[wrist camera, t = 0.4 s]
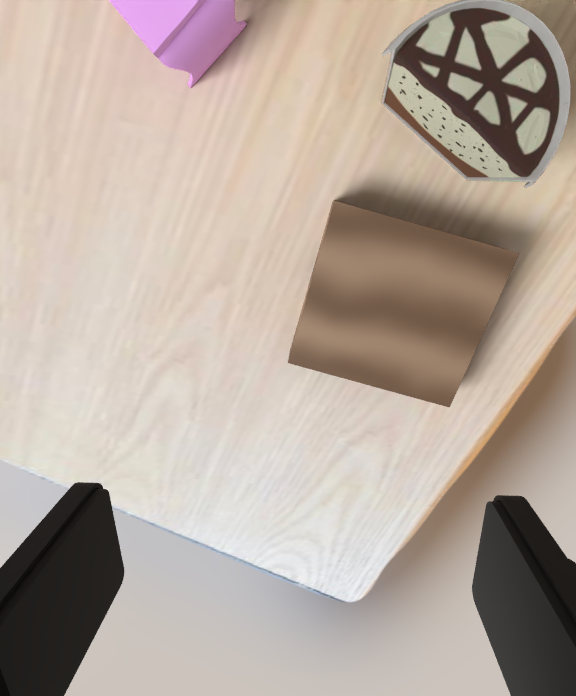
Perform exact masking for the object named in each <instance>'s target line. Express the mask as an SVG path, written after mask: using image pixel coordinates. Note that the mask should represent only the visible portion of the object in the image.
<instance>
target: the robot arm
mask: <svg viewBox="0 0 576 696" xmlns="http://www.w3.org/2000/svg"><path fill="white" fill-rule="evenodd" d="M123 577H124V566H123V561H122V556H121V551H120V546H119V541H118V536H117V531H116V526H115V521H114V517H113V511H112V506H111V501H110V496H109V492H108V490H106V489H103V486H102V485H101V484H100V483H80V482H78V483H75V484H74V485H73V486H72V487H71V488H70V489H69V490H68V491H67V492H66V494H65V495H64V496H63V497H62V498H61V499H60V500H59V501H58V503H57V504H56V505H55V506H54V507H53V509H52V510H51V511H50V512H49V513H48V514H47V515H46V517H45V518H44V519H43V520H42V521H41V522H40V523H39V525H38V526H37V527H36V528H35V529H34V530H33V531H32V533H31V534H30V535H29V536H28V537H27V538H26V539H25V540H24V542H23V543H22V544H21V545H20V546H19V548H18V549H17V550H16V551H15V552H14V553H13V554H12V556H11V557H10V558H9V559H8V560H7V561H6V562H5V563H4V565H3V566H2V567H1V568H0V696H64V695H65V693H66V690H67V689H68V687H69V685H70V683H71V681H72V679H73V677H74V675H75V673H76V671H77V670H78V668H79V666H80V664H81V662H82V660H83V658H84V656H85V654H86V652H87V650H88V648H89V646H90V644H91V642H92V640H93V639H94V637H95V635H96V633H97V631H98V629H99V627H100V625H101V623H102V621H103V619H104V617H105V615H106V613H107V611H108V610H109V608H110V606H111V604H112V602H113V600H114V598H115V596H116V594H117V592H118V590H119V588H120V586H121V584H122V581H123ZM472 592H473V598H474V602H475V605H476V607H477V610H478V612H479V615H480V618H481V620H482V623H483V625H484V628H485V630H486V633H487V636H488V638H489V641H490V643H491V646H492V648H493V651H494V653H495V656H496V659H497V661H498V664H499V666H500V669H501V671H502V674H503V677H504V679H505V681H506V684H507V687H508V689H509V692H510V694H511V696H576V563H575V562H573V561H572V560H570V559H567V557H566V556H565V554H564V553H563V551H562V550H561V549H560V547H559V546H558V544H557V543H556V541H555V540H554V538H553V537H552V536H551V534H550V533H549V531H548V530H547V528H546V527H545V526H544V524H543V523H542V521H541V520H540V519H539V517H538V516H537V514H536V513H535V511H534V510H533V508H532V507H531V506H530V504H529V503H528V501H527V500H526V499H525V498H524V497H522V496H501V495H500V496H499V495H498V496H496V497H495V498H494V501H493V502H488V503H487V505H486V509H485V515H484V521H483V527H482V533H481V538H480V544H479V550H478V556H477V561H476V567H475V573H474V579H473V585H472Z"/></svg>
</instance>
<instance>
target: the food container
mask: <svg viewBox="0 0 576 696" xmlns="http://www.w3.org/2000/svg"><path fill="white" fill-rule="evenodd" d="M389 52H390V53H392V54H391V59H390V63H389V68H388V73H387V77H386V82H385V87H384V91H383V96H382V101H381V103H382V104H383V105H384V106H385V107H386V108H387V109H388V110H389V111H391V112H392V113H393V114H394V115H395V116H396V117H397V118H398V119H399V120H401V121H402V122H403V123H404V124H405V125H406V126H407V127H408V128H409V129H411V130H412V131H413V132H414V133H415V134H416V135H417V136H418V137H419V138H420V139H422V140H423V141H424V142H425V143H426V144H427V145H428V146H429V147H430V148H432V149H433V150H434V151H435V152H436V153H437V154H438V155H439V156H440V157H441V158H443V159H444V160H445V161H446V162H447V163H448V164H449V165H450V166H451V167H453V168H454V169H455V170H456V171H457V172H458V173H459V174H460V175H461V176H463V177H464V178H465V179H466V180H473V181H520V182H527V183H526V185H525V186H524V187H525V188H527V187H529V186H531V185H533V184H534V183H535V182H536V181H537V179H538V178H539V177H540V176H541V174H542V173H543V172H544V170H545V169H546V167H547V166H548V164H549V162H550V161H551V159H552V158H553V156H554V154H555V153H556V150H557V148H558V146H559V144H560V141H561V139H562V137H563V134H564V130H565V127H566V123H567V120H568V114H569V107H570V79H569V72H568V66H567V63H566V60H565V57H564V54H563V51H562V49H561V47H560V45H559V44H558V42H557V40H556V38H555V36H554V35H553V34H552V32H551V31H550V30H549V29H548V27H547V26H546V25H545V24H544V23H543V22H542V21H541V20H540V19H538V18H537V17H536V16H535V15H534V14H532V13H531V12H529V11H527V10H525V9H524V8H522V7H520V6H518V5H515V4H512V3H509V2H505V1H502V0H461V1H457V2H454V3H450V4H447V5H444V6H442V7H440V8H438V9H436V10H434V11H431V12H430V13H428V14H427V15H425V16H424V17H422V18H421V19H419V20H418V21H416V22H415V23H413V24H412V25H410V26H409V27H408V28H406V29H405V30H404V31H403V32H402V33H401V34H400V35H399V36H398V37H396V38H395V39H394V40H393V41H392V42H391V44H390V45H389V46H388V47H387V48H386V50H385V51H384V52H383V53H382V56H385V55H386V54H388V53H389Z"/></svg>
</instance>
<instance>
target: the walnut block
mask: <svg viewBox="0 0 576 696" xmlns="http://www.w3.org/2000/svg"><path fill="white" fill-rule="evenodd" d="M518 255H519V253H517V252H513V251H510V250H506V249H503V248H499V247H496V246H492V245H489V244H485V243H482V242H478V241H475V240H471V239H468V238H464V237H461V236H457V235H454V234H450V233H447V232H443V231H440V230H436V229H433V228H429V227H425V226H422V225H418V224H415V223H411V222H408V221H404V220H401V219H397V218H394V217H390V216H387V215H383V214H380V213H376V212H373V211H369V210H366V209H362V208H359V207H355V206H352V205H348V204H345V203H341V202H338V201H333V203H332V206H331V210H330V213H329V217H328V220H327V224H326V227H325V231H324V234H323V238H322V241H321V245H320V248H319V252H318V255H317V259H316V262H315V266H314V269H313V272H312V276H311V279H310V283H309V286H308V290H307V293H306V297H305V300H304V304H303V307H302V311H301V314H300V318H299V321H298V325H297V328H296V332H295V335H294V339H293V342H292V346H291V349H290V354H289V359H288V363H290V364H294V365H298V366H301V367H305V368H308V369H312V370H316V371H319V372H323V373H327V374H330V375H334V376H337V377H341V378H345V379H348V380H352V381H356V382H359V383H363V384H367V385H370V386H374V387H377V388H381V389H385V390H388V391H392V392H396V393H399V394H403V395H406V396H410V397H414V398H417V399H421V400H425V401H428V402H432V403H435V404H439V405H443V406H446V407H450V405H451V403H452V401H453V399H454V396H455V394H456V392H457V390H458V388H459V385H460V383H461V381H462V379H463V377H464V374H465V372H466V370H467V368H468V366H469V363H470V361H471V359H472V357H473V354H474V352H475V350H476V348H477V346H478V343H479V341H480V339H481V337H482V335H483V332H484V330H485V328H486V326H487V324H488V321H489V319H490V317H491V315H492V312H493V310H494V308H495V306H496V304H497V301H498V299H499V297H500V295H501V293H502V290H503V288H504V286H505V284H506V282H507V279H508V277H509V275H510V273H511V270H512V268H513V266H514V264H515V262H516V259H517V257H518Z"/></svg>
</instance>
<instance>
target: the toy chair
mask: <svg viewBox="0 0 576 696" xmlns="http://www.w3.org/2000/svg"><path fill="white" fill-rule="evenodd" d="M109 1H110V2H111V4H112V5H113V6H114V7H115V8H116V10H117V11H118V12H119V13H120V14H121V16H122V17H123V18H124V19H125V20H126V22H127V23H128V24H129V25H130V26H131V28H132V29H133V30H134V31H135V33H136V34H137V35H138V36H139V37H140V39H141V40H142V41H143V42H144V43H145V45H146V46H147V47H148V48H149V49H150V51H151V52H152V53H153V54H154V55H155V56H156V57H157V58H158V59H159V60H160V61H161V62H162V63H163V64H164V65H166V66H167V67H170V68H173V69H178V70H183V71H187V72H189V73H190V79H189V82H188V86H189V87H190V88H191V87H192V86H193V85H194V84H195V83H196V82H197V81H198V80H199V78H200V77H201V76H202V75H203V74H204V73H205V72H206V71H207V69H208V68H209V67H210V66H211V65H212V64H213V63H214V62H215V60H216V59H217V58H218V57H219V56H220V55H221V54H222V53H223V51H224V50H225V49H226V48H227V47H228V46H229V45H230V44H231V42H232V41H233V40H234V39H235V38H236V37H237V36H238V35H239V33H240V32H241V31H242V30H243V29H244V28H245V27H246V25H247V24H246V22H245V21H241V22H236V20H235V1H234V0H109Z"/></svg>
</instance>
